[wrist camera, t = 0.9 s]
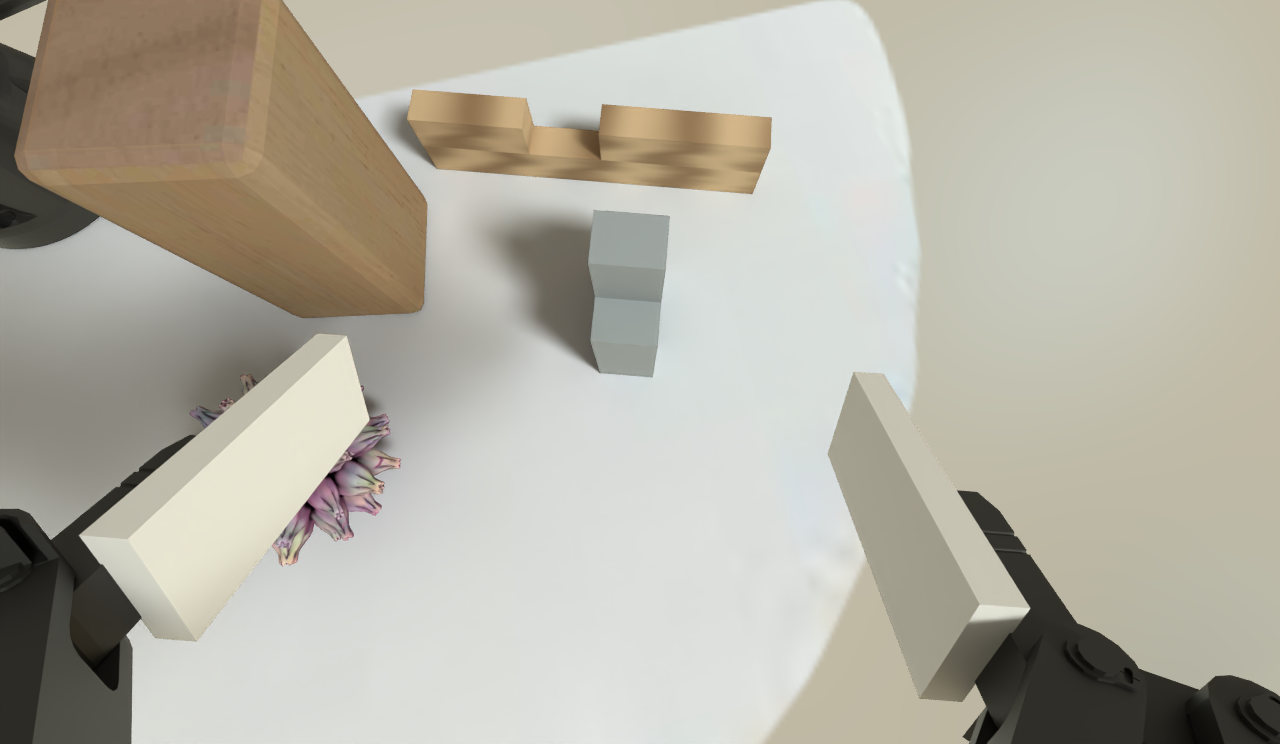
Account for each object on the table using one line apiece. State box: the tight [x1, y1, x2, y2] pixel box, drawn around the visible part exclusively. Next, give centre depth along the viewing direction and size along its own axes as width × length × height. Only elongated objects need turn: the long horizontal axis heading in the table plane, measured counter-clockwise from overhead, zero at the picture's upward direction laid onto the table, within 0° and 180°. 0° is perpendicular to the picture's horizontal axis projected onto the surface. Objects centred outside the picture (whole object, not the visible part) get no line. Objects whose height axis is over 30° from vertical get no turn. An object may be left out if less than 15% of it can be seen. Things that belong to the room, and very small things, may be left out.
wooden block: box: [14, 0, 427, 318], centre depth 33 cm, size 10×10×20 cm
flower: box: [190, 374, 401, 566], centre depth 33 cm, size 12×12×12 cm
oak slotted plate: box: [407, 90, 772, 194], centre depth 41 cm, size 26×2×6 cm, turn 85°
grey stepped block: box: [588, 210, 670, 377], centre depth 35 cm, size 8×4×14 cm, turn 175°
